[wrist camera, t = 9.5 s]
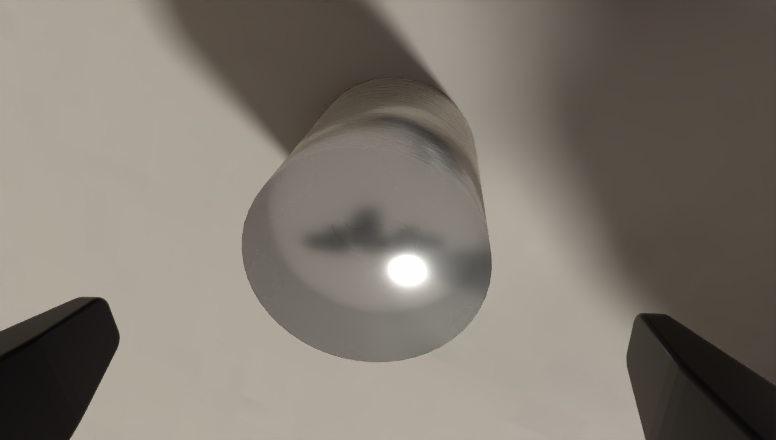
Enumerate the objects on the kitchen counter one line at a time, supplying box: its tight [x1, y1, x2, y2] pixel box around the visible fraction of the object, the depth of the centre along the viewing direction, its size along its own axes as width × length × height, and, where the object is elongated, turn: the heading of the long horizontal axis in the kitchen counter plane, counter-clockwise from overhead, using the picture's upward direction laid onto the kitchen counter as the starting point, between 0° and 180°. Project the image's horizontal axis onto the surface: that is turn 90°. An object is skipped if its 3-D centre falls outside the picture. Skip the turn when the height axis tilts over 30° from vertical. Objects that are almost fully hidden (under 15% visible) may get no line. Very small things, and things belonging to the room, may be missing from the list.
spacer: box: [242, 77, 492, 362], centre depth 13 cm, size 5×5×6 cm
